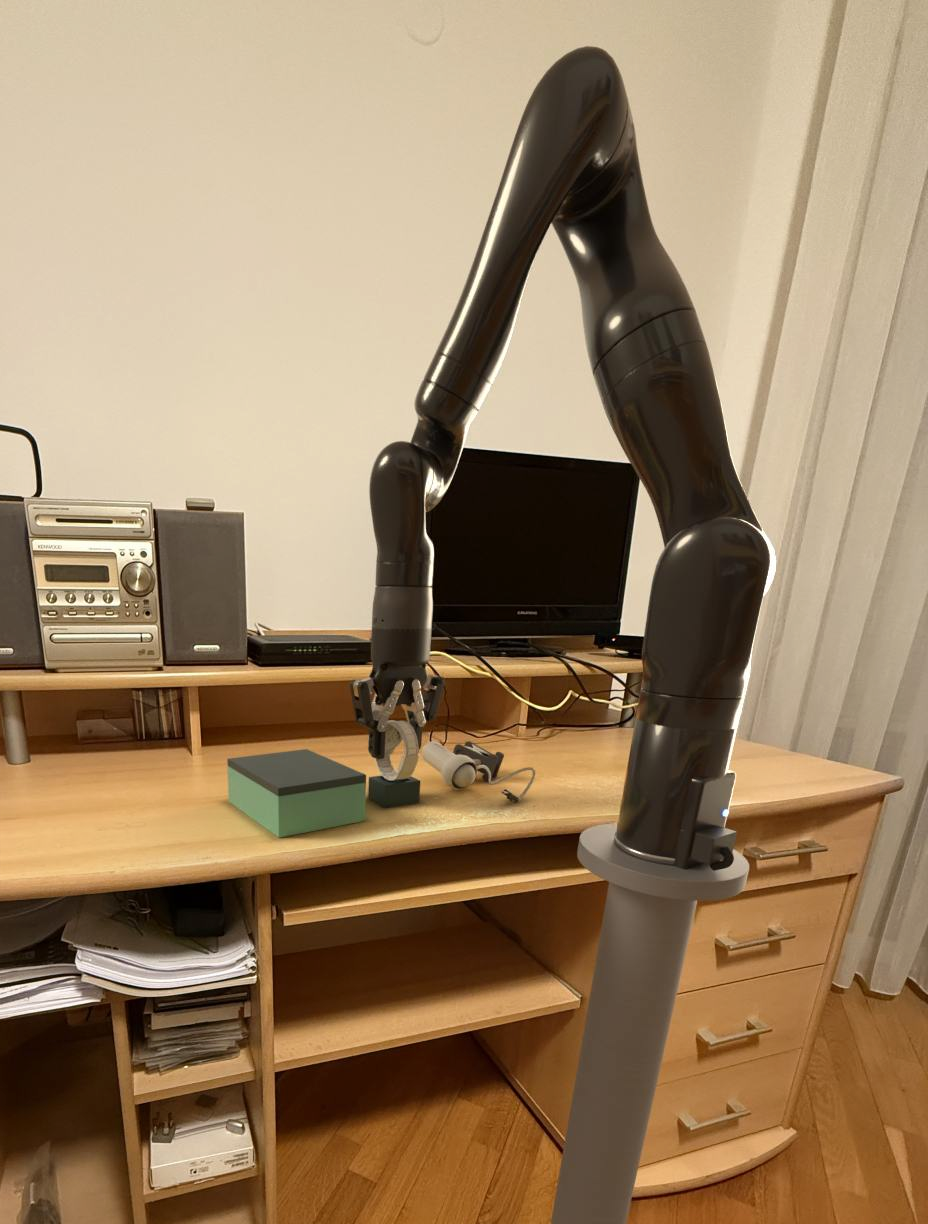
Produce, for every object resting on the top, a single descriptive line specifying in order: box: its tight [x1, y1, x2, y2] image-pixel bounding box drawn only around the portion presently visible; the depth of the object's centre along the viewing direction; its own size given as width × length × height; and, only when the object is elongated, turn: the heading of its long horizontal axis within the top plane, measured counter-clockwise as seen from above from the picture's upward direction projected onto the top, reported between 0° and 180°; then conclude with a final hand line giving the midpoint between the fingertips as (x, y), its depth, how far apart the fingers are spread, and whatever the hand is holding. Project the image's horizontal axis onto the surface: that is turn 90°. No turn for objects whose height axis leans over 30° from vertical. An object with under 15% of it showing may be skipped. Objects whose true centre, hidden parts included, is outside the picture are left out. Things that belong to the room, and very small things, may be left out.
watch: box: [367, 719, 421, 809], centre depth 85 cm, size 6×8×11 cm
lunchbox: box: [226, 748, 367, 839], centre depth 81 cm, size 15×12×6 cm
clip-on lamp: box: [421, 740, 536, 803], centre depth 92 cm, size 12×6×18 cm
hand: (394, 755), depth 85 cm, fingers open, 5 cm apart
